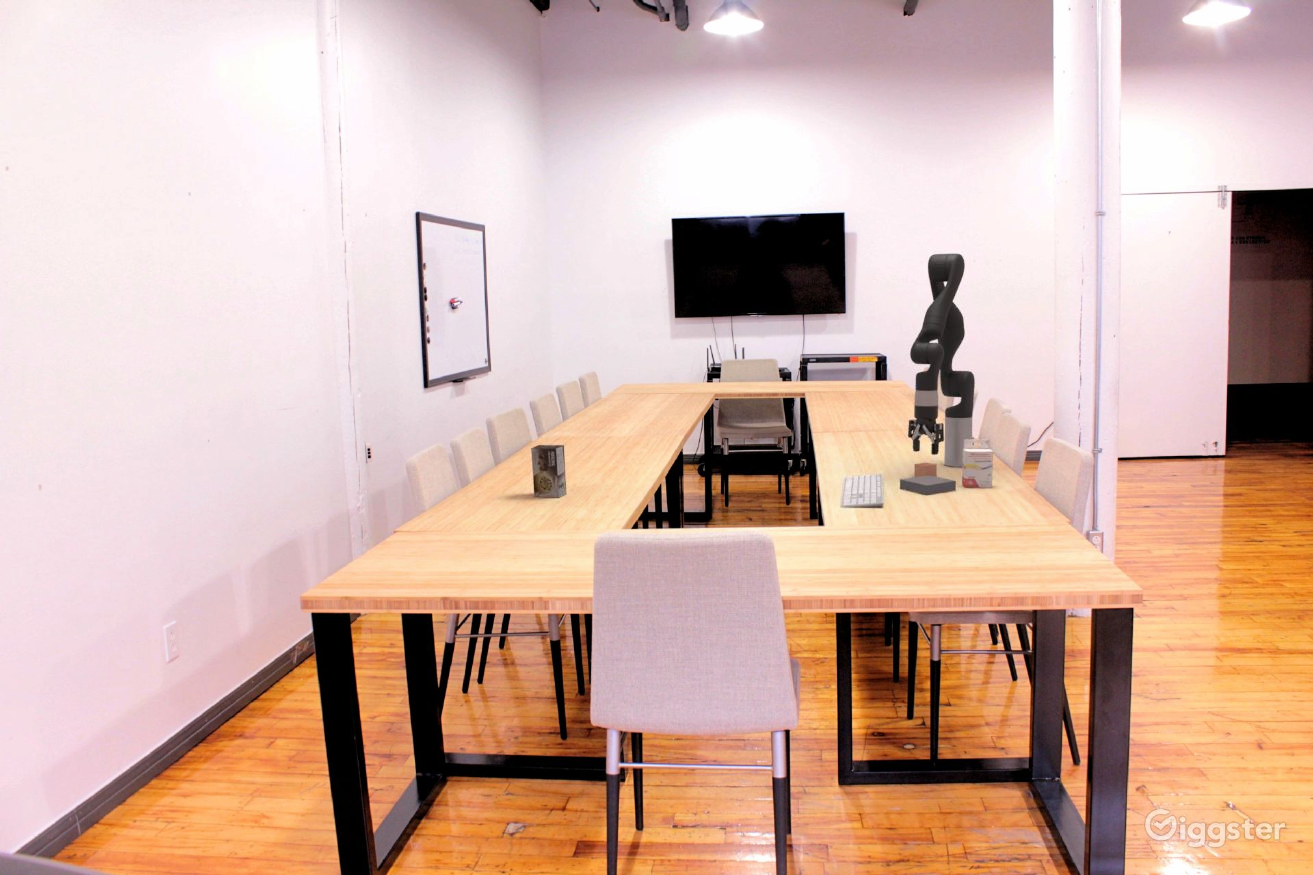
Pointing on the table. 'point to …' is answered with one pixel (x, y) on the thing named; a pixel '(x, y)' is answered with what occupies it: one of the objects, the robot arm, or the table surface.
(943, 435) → the robot arm
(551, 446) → the coffee box
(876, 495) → the keyboard
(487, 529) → the table surface
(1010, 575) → the table surface
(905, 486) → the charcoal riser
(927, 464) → the terracotta cube
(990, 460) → the ink cartridge box
